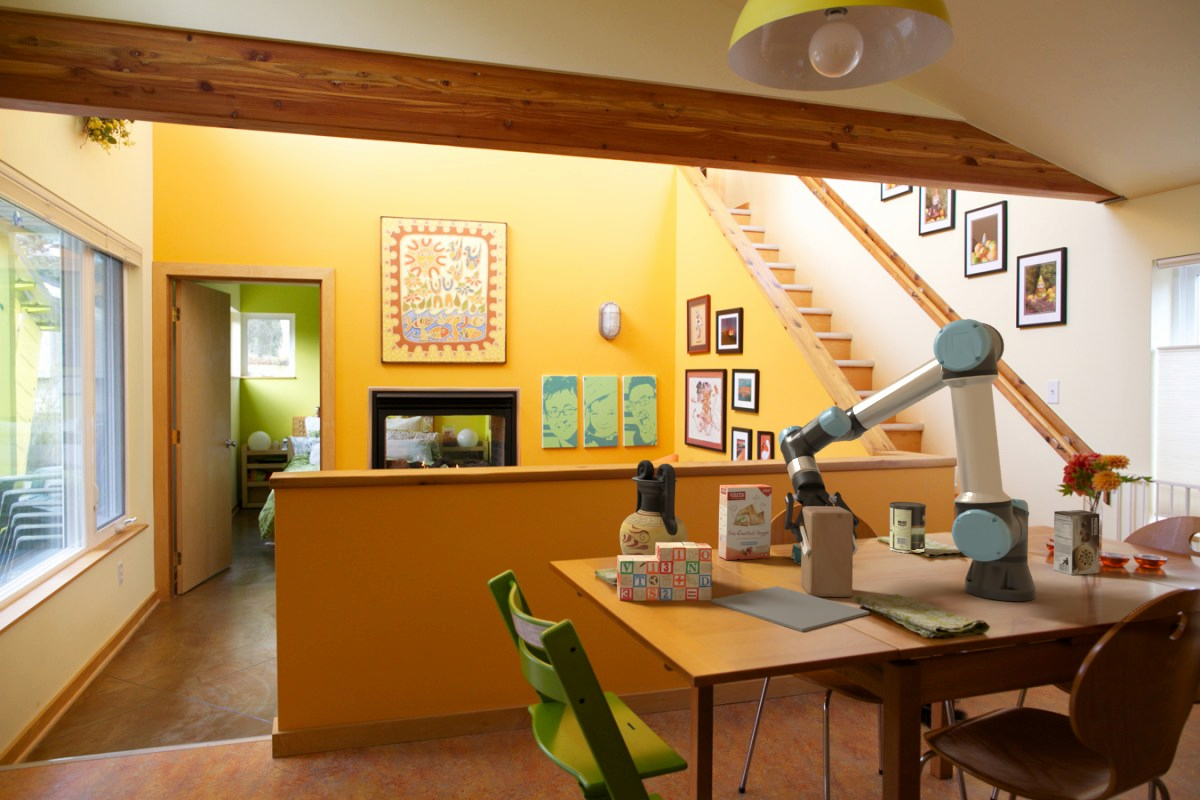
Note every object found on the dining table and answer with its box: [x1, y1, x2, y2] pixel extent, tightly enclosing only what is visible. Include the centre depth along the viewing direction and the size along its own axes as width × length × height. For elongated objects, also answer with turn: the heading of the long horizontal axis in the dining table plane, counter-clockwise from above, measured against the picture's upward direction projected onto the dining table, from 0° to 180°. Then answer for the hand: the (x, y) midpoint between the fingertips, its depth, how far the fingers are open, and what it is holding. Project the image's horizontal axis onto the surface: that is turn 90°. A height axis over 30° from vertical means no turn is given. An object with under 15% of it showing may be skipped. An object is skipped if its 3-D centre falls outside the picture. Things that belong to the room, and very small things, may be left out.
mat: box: [710, 585, 870, 633], centre depth 173 cm, size 26×22×1 cm
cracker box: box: [717, 483, 773, 561], centre depth 225 cm, size 14×6×21 cm, turn 105°
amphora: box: [619, 459, 688, 556], centre depth 197 cm, size 18×17×30 cm
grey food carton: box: [1053, 509, 1100, 576], centre depth 211 cm, size 9×6×16 cm
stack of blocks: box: [616, 541, 713, 601], centre depth 182 cm, size 21×6×12 cm, turn 94°
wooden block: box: [800, 505, 854, 598], centre depth 187 cm, size 10×10×20 cm
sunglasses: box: [790, 543, 801, 564], centre depth 222 cm, size 14×15×5 cm
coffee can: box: [888, 501, 927, 554], centre depth 237 cm, size 10×10×14 cm
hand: (831, 552), depth 184 cm, fingers closed on wooden block, 11 cm apart
